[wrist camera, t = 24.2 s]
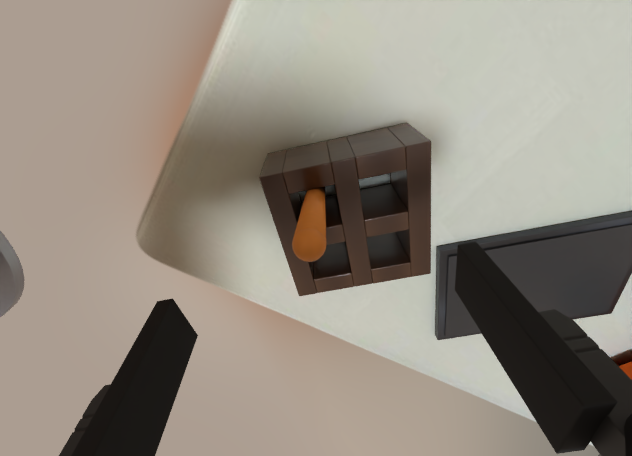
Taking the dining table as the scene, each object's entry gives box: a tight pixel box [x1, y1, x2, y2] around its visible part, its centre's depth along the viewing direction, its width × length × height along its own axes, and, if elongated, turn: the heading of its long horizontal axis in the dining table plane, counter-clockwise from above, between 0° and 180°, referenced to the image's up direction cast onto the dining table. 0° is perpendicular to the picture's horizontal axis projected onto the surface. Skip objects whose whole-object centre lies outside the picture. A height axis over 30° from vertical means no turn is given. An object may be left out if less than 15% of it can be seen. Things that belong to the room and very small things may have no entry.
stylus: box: [292, 186, 326, 262], centre depth 18 cm, size 1×1×14 cm
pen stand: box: [259, 123, 431, 296], centre depth 24 cm, size 11×11×5 cm
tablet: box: [435, 211, 632, 340], centre depth 31 cm, size 20×14×1 cm
